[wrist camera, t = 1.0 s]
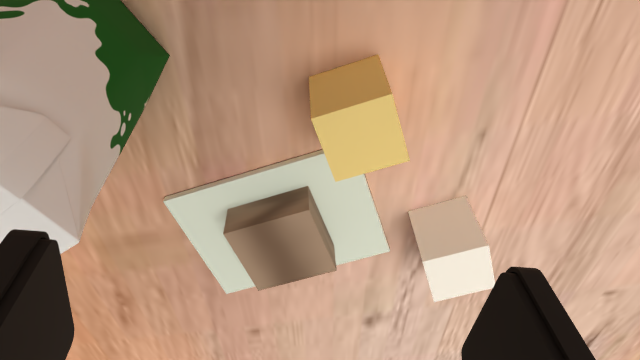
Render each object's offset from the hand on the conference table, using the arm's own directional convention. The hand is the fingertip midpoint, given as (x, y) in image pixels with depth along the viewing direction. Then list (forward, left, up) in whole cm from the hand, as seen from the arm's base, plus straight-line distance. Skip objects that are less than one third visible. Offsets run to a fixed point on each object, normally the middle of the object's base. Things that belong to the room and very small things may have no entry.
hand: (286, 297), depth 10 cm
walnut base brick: (+7, +18, -24) cm, 30 cm away
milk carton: (+13, -1, -24) cm, 28 cm away
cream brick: (-6, +23, -24) cm, 34 cm away
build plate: (+7, +18, -24) cm, 31 cm away
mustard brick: (-2, +8, -24) cm, 26 cm away
